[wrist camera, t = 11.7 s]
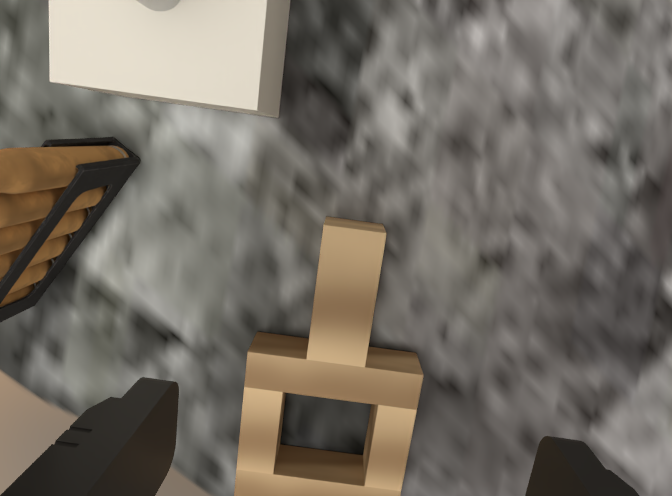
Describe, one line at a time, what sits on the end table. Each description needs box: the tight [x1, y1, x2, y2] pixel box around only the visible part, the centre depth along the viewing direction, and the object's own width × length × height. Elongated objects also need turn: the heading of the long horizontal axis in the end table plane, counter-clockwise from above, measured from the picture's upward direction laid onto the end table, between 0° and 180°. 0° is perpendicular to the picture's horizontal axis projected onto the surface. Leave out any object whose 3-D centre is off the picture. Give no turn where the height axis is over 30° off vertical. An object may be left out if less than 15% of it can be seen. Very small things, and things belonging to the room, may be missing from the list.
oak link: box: [234, 217, 423, 496], centre depth 24 cm, size 16×9×2 cm, turn 173°
